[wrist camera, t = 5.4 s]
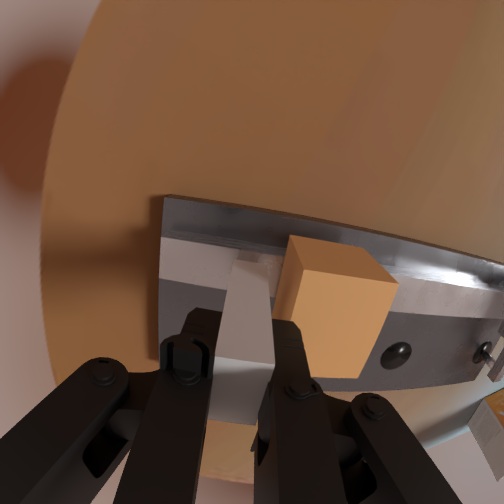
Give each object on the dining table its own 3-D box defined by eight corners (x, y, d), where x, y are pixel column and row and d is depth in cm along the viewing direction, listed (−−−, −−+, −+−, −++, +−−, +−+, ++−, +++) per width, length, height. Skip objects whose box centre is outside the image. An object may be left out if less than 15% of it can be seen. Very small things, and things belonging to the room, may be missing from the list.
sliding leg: (286, 226, 15) (303, 269, 10) (353, 239, 15) (399, 283, 10) (256, 359, 18) (256, 428, 13) (312, 365, 19) (327, 430, 13)
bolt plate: (170, 194, 16) (120, 220, 10) (520, 268, 18) (563, 297, 11) (163, 359, 21) (138, 424, 14) (469, 373, 22) (497, 412, 16)
